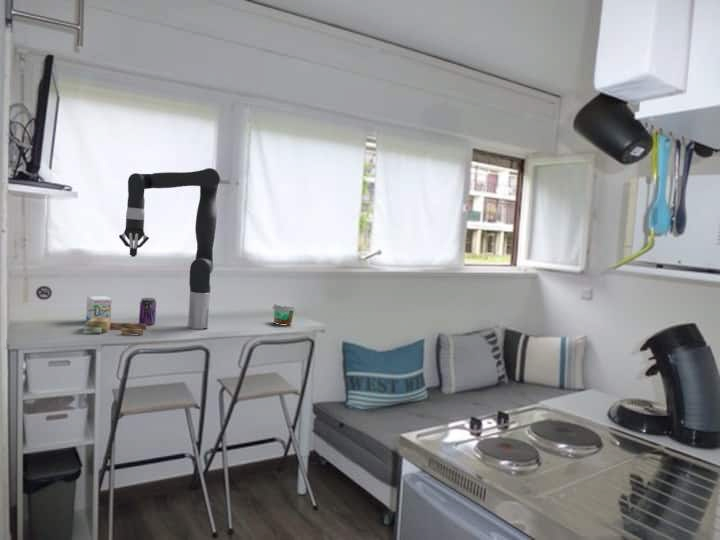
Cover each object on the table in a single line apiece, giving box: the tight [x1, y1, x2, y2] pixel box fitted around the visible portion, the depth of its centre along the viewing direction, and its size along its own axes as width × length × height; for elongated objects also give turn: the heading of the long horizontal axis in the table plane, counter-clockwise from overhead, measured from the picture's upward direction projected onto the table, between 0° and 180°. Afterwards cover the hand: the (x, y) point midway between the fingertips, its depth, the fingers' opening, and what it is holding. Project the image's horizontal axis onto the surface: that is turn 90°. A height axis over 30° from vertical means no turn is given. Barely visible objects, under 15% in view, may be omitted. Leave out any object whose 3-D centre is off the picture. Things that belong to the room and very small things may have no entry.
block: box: [89, 317, 112, 333], centre depth 228 cm, size 7×7×5 cm
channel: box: [83, 319, 148, 336], centre depth 229 cm, size 23×12×4 cm, turn 105°
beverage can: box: [138, 297, 157, 326], centre depth 248 cm, size 7×7×12 cm
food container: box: [272, 302, 296, 324], centre depth 276 cm, size 12×6×10 cm, turn 68°
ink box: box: [85, 295, 113, 322], centre depth 242 cm, size 8×8×12 cm
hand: (133, 256), depth 239 cm, fingers closed
